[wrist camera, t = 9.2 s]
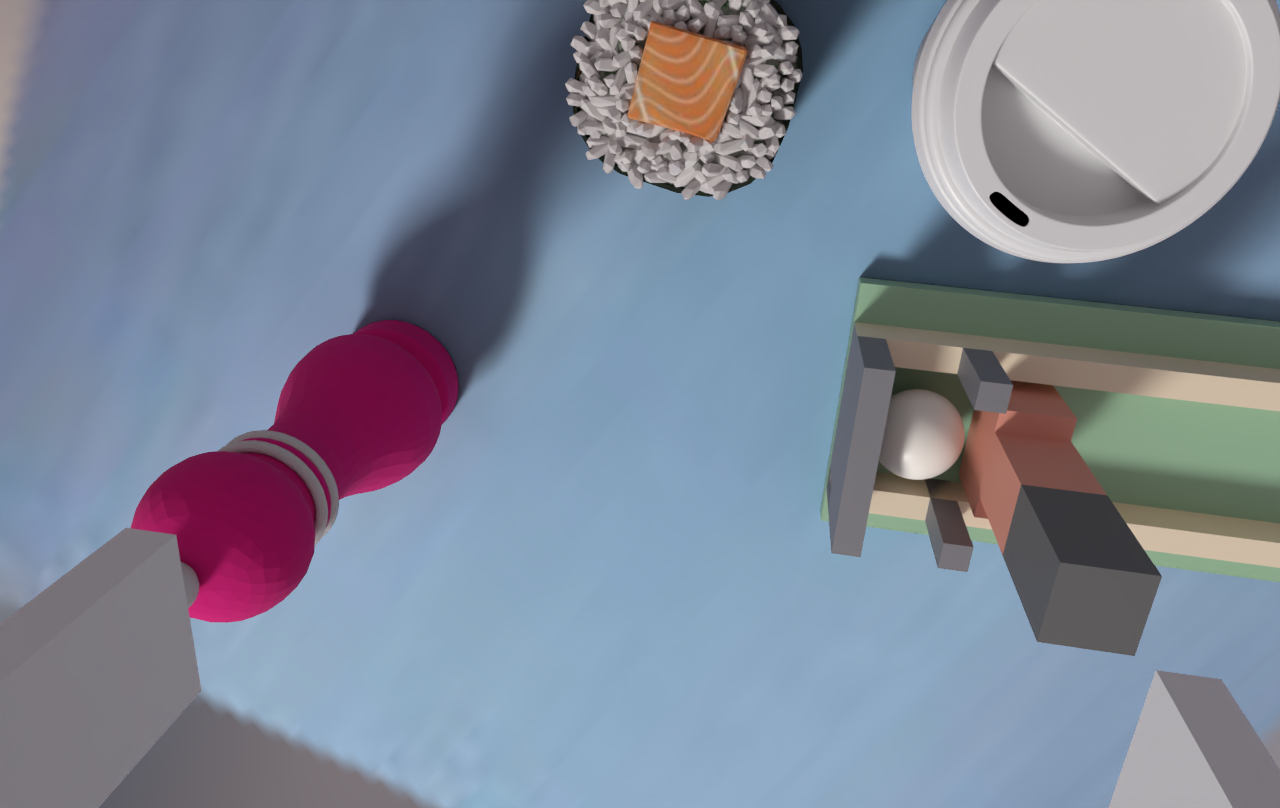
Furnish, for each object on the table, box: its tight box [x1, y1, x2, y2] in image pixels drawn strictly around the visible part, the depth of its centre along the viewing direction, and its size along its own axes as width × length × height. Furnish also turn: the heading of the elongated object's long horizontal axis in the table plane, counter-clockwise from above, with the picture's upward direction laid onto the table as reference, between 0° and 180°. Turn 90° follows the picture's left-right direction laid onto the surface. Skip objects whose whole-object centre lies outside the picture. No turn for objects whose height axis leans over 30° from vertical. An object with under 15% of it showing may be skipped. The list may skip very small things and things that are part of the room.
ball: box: [879, 389, 965, 480], centre depth 41 cm, size 4×4×4 cm
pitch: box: [820, 277, 1280, 582], centre depth 39 cm, size 12×22×7 cm, turn 87°
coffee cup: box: [912, 0, 1280, 263], centre depth 31 cm, size 10×10×15 cm
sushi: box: [565, 0, 803, 200], centre depth 36 cm, size 8×8×8 cm
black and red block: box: [959, 380, 1162, 656], centre depth 35 cm, size 5×3×14 cm, turn 177°
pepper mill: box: [131, 320, 458, 622], centre depth 38 cm, size 7×7×20 cm
